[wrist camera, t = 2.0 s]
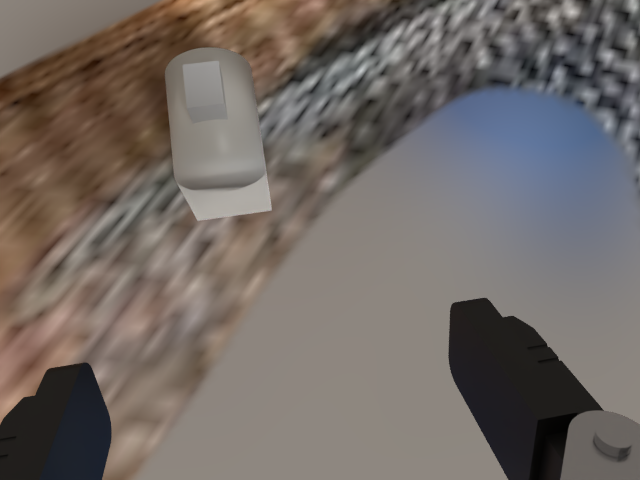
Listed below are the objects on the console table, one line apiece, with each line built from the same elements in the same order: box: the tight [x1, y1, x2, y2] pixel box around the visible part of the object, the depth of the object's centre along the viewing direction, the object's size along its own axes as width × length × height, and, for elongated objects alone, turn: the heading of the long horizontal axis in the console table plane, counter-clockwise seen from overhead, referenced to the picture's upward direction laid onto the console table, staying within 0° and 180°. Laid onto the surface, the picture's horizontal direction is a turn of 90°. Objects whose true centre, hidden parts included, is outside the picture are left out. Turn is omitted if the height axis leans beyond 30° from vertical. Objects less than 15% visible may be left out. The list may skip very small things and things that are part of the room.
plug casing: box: [165, 47, 272, 221], centre depth 28 cm, size 4×6×9 cm
